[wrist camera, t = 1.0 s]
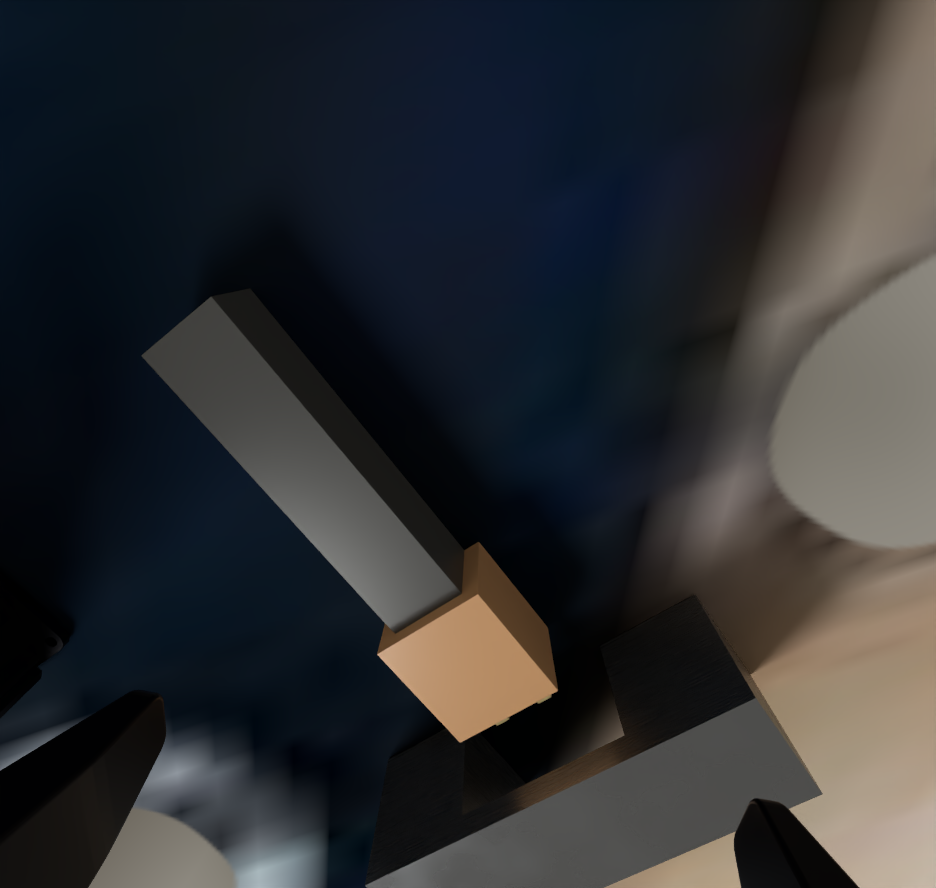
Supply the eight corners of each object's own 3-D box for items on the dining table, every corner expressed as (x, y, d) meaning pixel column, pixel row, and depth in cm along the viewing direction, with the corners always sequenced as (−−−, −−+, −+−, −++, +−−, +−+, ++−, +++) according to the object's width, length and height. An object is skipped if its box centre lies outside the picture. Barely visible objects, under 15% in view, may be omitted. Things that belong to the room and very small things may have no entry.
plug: (175, 350, 20) (113, 373, 17) (265, 275, 19) (219, 283, 16) (479, 691, 25) (478, 762, 22) (563, 645, 24) (576, 711, 21)
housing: (388, 759, 27) (365, 885, 21) (694, 594, 23) (755, 697, 18) (451, 822, 28) (443, 955, 23) (750, 675, 24) (822, 794, 19)
